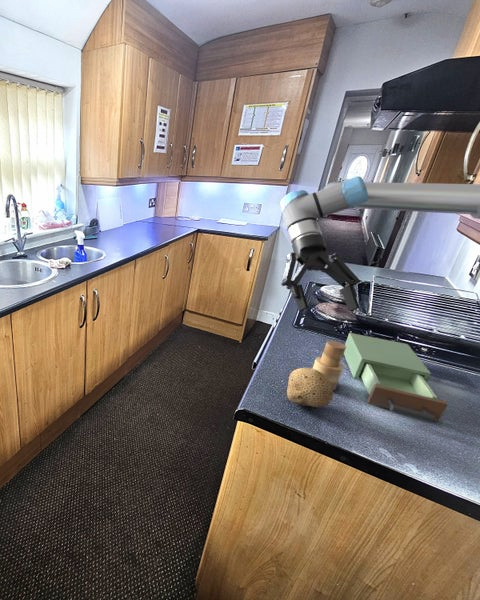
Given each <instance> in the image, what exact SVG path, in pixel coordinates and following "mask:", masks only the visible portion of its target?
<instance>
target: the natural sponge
mask: <svg viewBox="0 0 480 600" xmlns="http://www.w3.org/2000/svg"><path fill="white" fill-rule="evenodd" d="M286 388H287V389H286V396H287V399H288V401H290V402H291V403H294V404H295V405H298V406H300V407H312V408H322V407H325V406H328V405H329V404H330V403H331V402H332V400H333V397H334V392H333V391H332V389H331V386H330V383H329V381H328V379H327V378H326V377H325V376H324V375H323V374H322V373H321V372H319V371H318V370H315V369H313V367H300V368H296V369H294V370H292V371H291V372H290V374H289V376H288V382H287V387H286Z"/></svg>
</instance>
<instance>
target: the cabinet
mask: <svg viewBox="0 0 480 600" xmlns="http://www.w3.org/2000/svg"><path fill="white" fill-rule="evenodd" d="M344 345H345V346H346V349H345V352H344V354H343V356H344V358H345V360H346V363H347V366H348V369H349V370H350V372H351V375H352V377H353V379H355V380H360V381H363V379H362V377H361V375H360V372H361V370H362V368H363V365H364V363H365V362H367V363H372V364H376V365H381V366H385V367H390V368H394V369H399V370H403V371H408V372H412V373H417V374H420V375H421V376H422V377H423V379H424V380H425V381H426V383H428V380H429V378H430V376H431V374H432V373H431V372H430V370H429V368H427V367H426V365H425V364H424V362H422V360H421V359H420V358H419V356H418V355H417V353H415V351H414V350H413V349H412V348H411V346H410V345H409V344H408V343H404V342H399V341H394V340H388V339H383V338H378V337H373V336H368V335H362V334H358V333H353V332H349V333H348V336H347V338H346V340H345V344H344Z"/></svg>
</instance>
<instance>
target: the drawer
mask: <svg viewBox="0 0 480 600" xmlns="http://www.w3.org/2000/svg"><path fill="white" fill-rule="evenodd" d="M360 375H361V377H362V379H363V380H362V382H363V384H364V386H365V389H366V390H367V393H368V397H367V403H368V404H370V405H374V406H378V407H381V408H385V409H389V411H390V412H393V413H396V414H400V415H404V416H408V417H411V418H415V419H418V420H422V421H426V422H428V423H429V422H430V423H434V422H439V421H440V419H441V417H442V416H443V414H444V412H445V411H446V409H447V407H448V405H449V404H448V402H447V401H445V400H443V399H442V400H441V399H438V396H437V395H436V393H435V392H434V391H433V389H432V388H431V387H430V385H429V384H428V382H426V381H425V380H424V379H423V377H422V376H421V375H420V374H417V373H412V372H408V371H403V370H399V369H394V368H390V367H385V366H381V365H376V364H372V363H367V362H365V363H364V365H363V368H362V370H361V372H360Z"/></svg>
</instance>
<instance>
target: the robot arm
mask: <svg viewBox="0 0 480 600" xmlns="http://www.w3.org/2000/svg"><path fill="white" fill-rule="evenodd" d="M280 209H281V214H282V217H283V221H284V224H285V227H286V231H287V234H288V237H289V241H290V243H291V247H292V250H293V251H292V252H290V253H289V254H288V255H287V256H285V263H286V264H285V267H284V269H283V270H284V271H283V275H282V277H281V282H280V285H281V286H282V287H285V286H286V290H290V294H291V297H292V298H293V299H295V300H294V301H295V303H296V306H297V311H298V312H303V311H304V310H306V309H308V308H309V304H308V300H307V298H306V295H305V291H304V287H303V285H302V284H299V283H300V281H301V280H302V278H303V277H304V275H305V274H306V271H310V272H311V271H316V272H321V273H324V274H326V275H327V276H329V277H330V278H331V279H332V280H334V281H335V282H336V283H337V284H338V285H340V287H342V288H341V289H340V291H341V293H342V296H343V299H344V302H345V305H346V309H347V311H348V312H354V311H356V310H358V309H360V308H361V307H360V304H359V301H358V299H357V297H358V293H357V291H356V288H355V286H356V285H358V284H360V283H361V280H360V279H359V277H358V276H357V275H356V274H355V273H354V272H353V271H352V270H351V268H350V267H348V265H347V264H346V263H345V262H344V261H343V259H342V257H341V256H340V254H339V253H338V252H335V253H333V254H328V252H326V249H327V244H326V241H325V239H324V236H323V233H322V230H321V227H320V224H319V221H318V219H320V218H321V219H322V218H325V217H327V216H329V215H333V214H336V213H339V212H342V211H345V210H348V209H362V210H365V209H366V210H380V211H381V210H383V211H400V212H404V211H405V212H419V213H438V214H453V215H454V214H457V215H469V216H471V217H472V218H473V219H477V220H480V184H479V183H474V184H473V183H432V182H430V183H429V182H428V183H426V182H424V183H423V182H379V181H377V182H373V181H372V182H371V181H370V182H369V181H367V182H366V181H365V180H364V179H363V178H362V177H361V176H354V177H351V178H347V179H345V180H343V181H341V180H335V181H331V182H329V183H327V184H326V185H325V186H323V188H322V189H320V190H318V191H316V192H311V193H308V191H307V190H304V189H299V190H293V191H291V192H289V193H287V194H286V195H284V196H283V197H282V199H281V200H280ZM297 262H298V264H300V265H299V266H298V267H297V270H296V272H295V273H294V271H295V267H296V263H297Z"/></svg>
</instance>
